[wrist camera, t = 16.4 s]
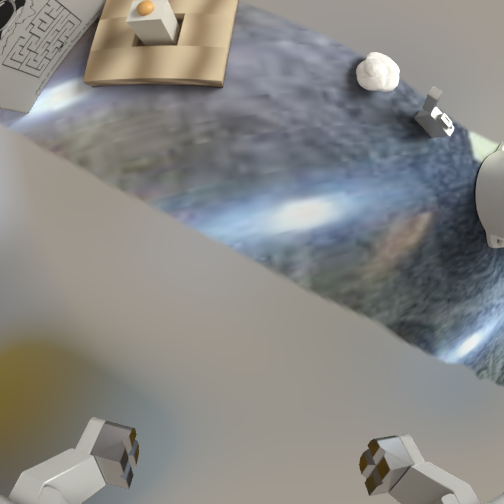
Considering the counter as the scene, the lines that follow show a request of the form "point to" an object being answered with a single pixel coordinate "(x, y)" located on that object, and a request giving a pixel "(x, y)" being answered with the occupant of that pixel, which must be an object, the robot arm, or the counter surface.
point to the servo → (153, 22)
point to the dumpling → (378, 73)
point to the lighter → (434, 116)
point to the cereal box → (38, 44)
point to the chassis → (163, 47)
